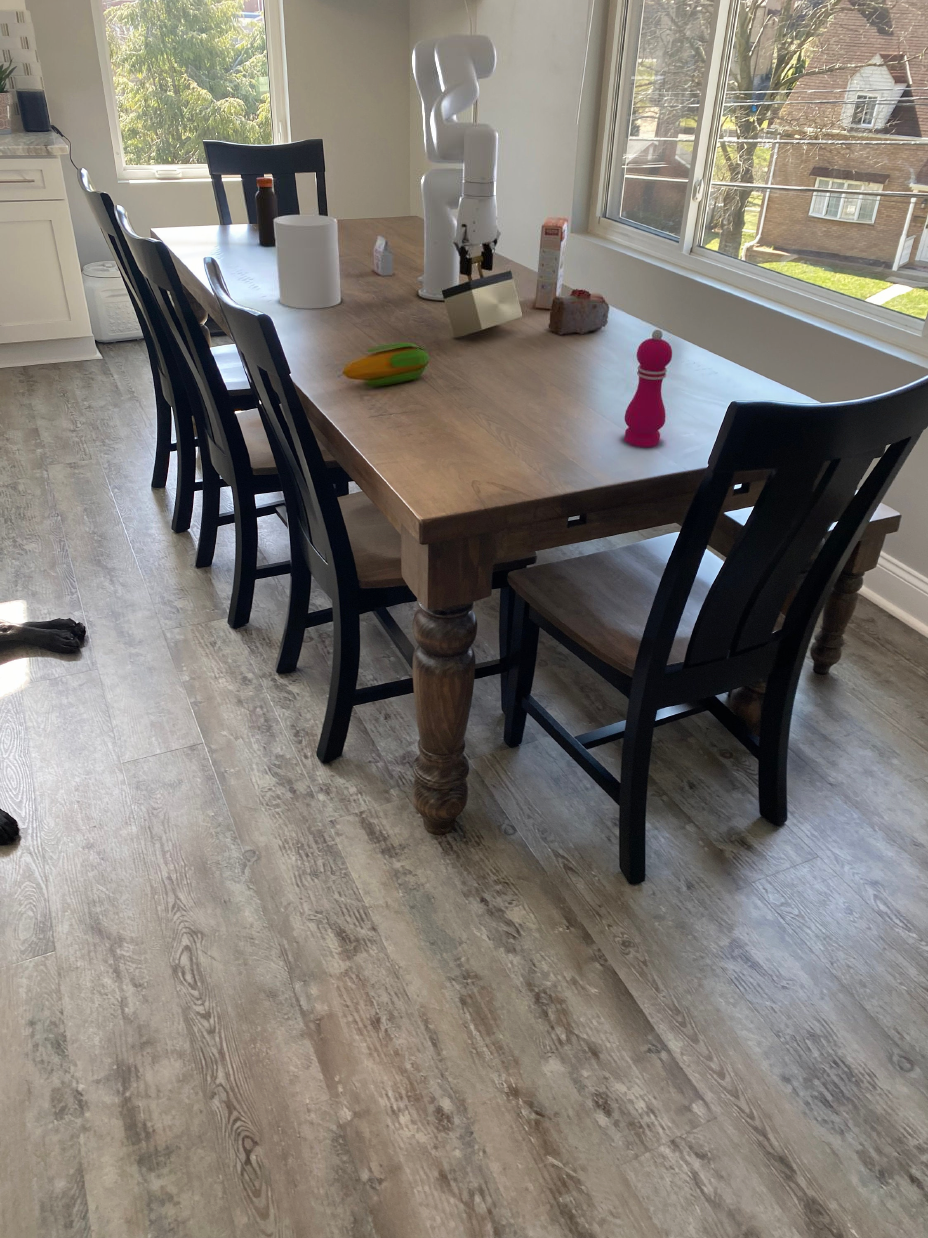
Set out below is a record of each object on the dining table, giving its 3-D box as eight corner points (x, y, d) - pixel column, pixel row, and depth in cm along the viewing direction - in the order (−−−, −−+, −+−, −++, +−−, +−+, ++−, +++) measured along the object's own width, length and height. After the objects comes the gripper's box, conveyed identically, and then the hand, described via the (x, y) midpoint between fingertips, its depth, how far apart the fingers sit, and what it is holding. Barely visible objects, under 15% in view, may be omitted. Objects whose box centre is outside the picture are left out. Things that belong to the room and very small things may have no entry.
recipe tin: (435, 267, 207) (462, 256, 201) (477, 257, 218) (505, 247, 212) (454, 337, 212) (482, 329, 206) (495, 324, 223) (522, 316, 217)
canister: (352, 301, 238) (350, 220, 227) (305, 311, 228) (300, 227, 217) (315, 290, 247) (310, 212, 236) (267, 299, 237) (260, 218, 226)
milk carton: (385, 269, 271) (384, 234, 265) (392, 274, 266) (392, 239, 260) (373, 270, 270) (372, 235, 264) (381, 275, 265) (380, 239, 259)
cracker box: (556, 310, 237) (563, 226, 226) (533, 308, 238) (540, 224, 226) (562, 298, 249) (569, 217, 237) (540, 296, 249) (546, 215, 238)
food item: (590, 323, 227) (595, 283, 222) (609, 331, 222) (614, 290, 216) (545, 328, 222) (549, 287, 216) (563, 337, 216) (566, 295, 211)
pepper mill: (632, 430, 166) (647, 321, 155) (668, 439, 163) (686, 329, 152) (614, 442, 161) (629, 330, 150) (651, 452, 158) (669, 338, 147)
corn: (436, 341, 183) (351, 356, 173) (437, 378, 187) (353, 395, 177) (417, 335, 188) (333, 348, 178) (418, 371, 192) (336, 386, 182)
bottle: (278, 246, 295) (272, 180, 284) (257, 246, 294) (251, 179, 284) (282, 242, 300) (276, 177, 289) (261, 242, 300) (256, 176, 289)
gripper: (489, 184, 208) (486, 264, 218) (441, 191, 197) (440, 275, 207) (515, 188, 204) (510, 269, 214) (467, 195, 193) (465, 280, 203)
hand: (476, 271), depth 210 cm, fingers closed on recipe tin, 7 cm apart
